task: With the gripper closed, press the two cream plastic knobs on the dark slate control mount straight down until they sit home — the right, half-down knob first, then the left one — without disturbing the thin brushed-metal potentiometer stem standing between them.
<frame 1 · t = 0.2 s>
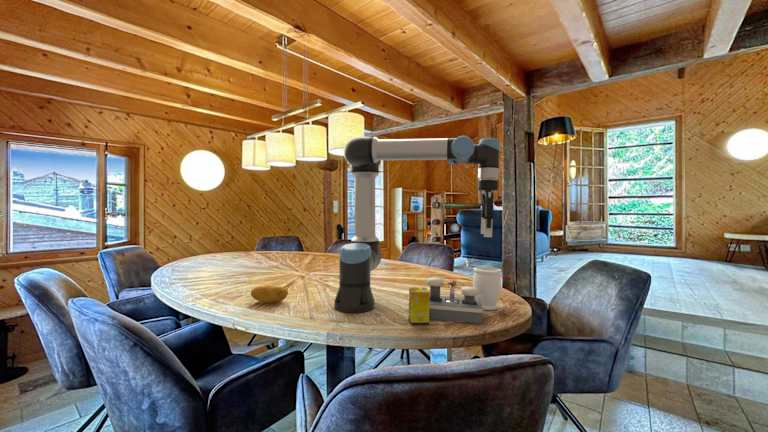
hand: (486, 235, 127), 28 cm above the table, fingers open, 13 cm apart
potato: (269, 303, 128), on the table
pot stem: (451, 315, 118), resting on mount
knob right: (469, 298, 116), point 7 cm above the table, slide at 2.5 cm
white tapered cup: (486, 307, 128), on the table
knob left: (435, 288, 119), point 9 cm above the table, slide at 0.0 cm
mount: (451, 314, 118), on the table
supplement box: (418, 322, 110), on the table
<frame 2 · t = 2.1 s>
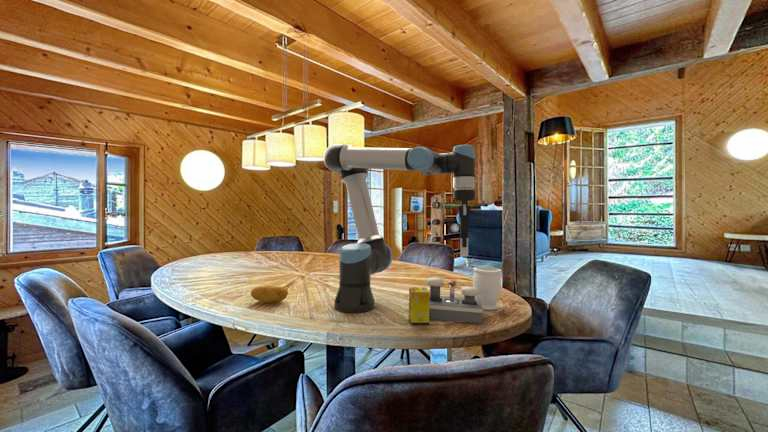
hand: (464, 256, 117), 21 cm above the table, fingers closed
nothing on the table moved.
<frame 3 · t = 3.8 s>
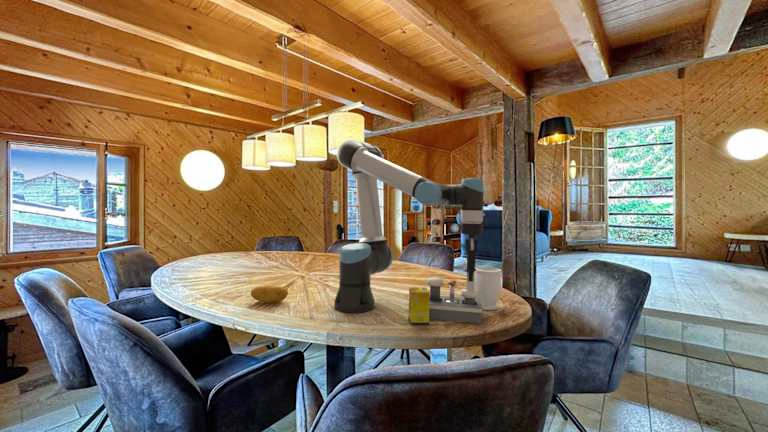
hand: (470, 289, 116), 10 cm above the table, fingers closed
knob right: (469, 300, 116), point 6 cm above the table, slide at 3.3 cm, touching gripper
everything else where it was.
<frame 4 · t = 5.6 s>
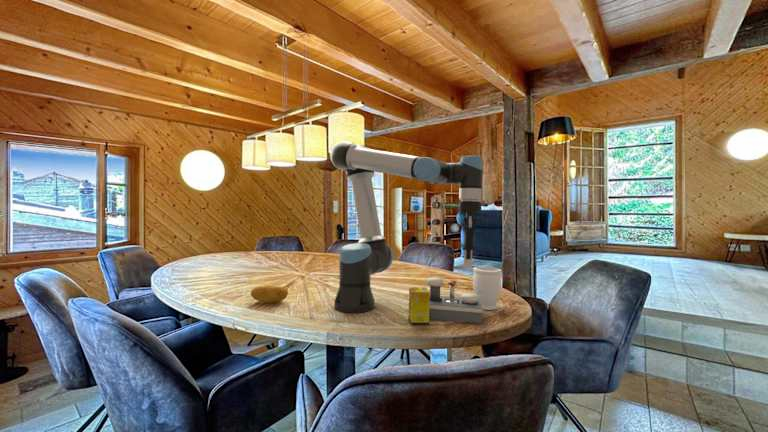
hand: (467, 267, 116), 17 cm above the table, fingers closed
knob right: (469, 305, 116), point 4 cm above the table, slide at 5.0 cm
everything else where it was.
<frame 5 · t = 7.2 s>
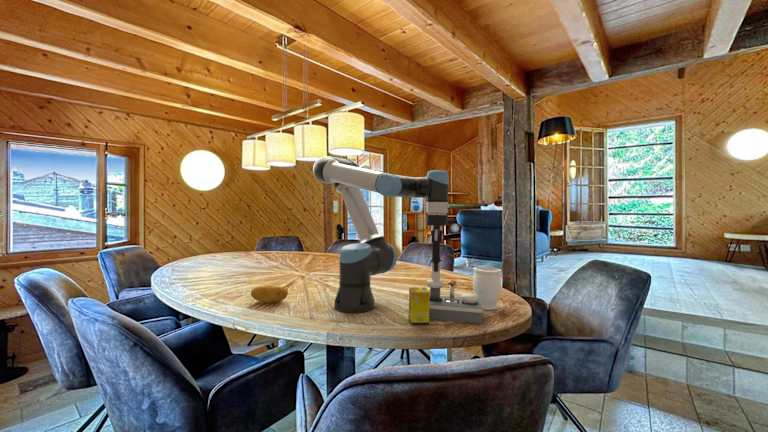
hand: (435, 280, 118), 12 cm above the table, fingers closed
knob left: (435, 290, 119), point 8 cm above the table, slide at 0.6 cm, touching gripper
everything else where it was.
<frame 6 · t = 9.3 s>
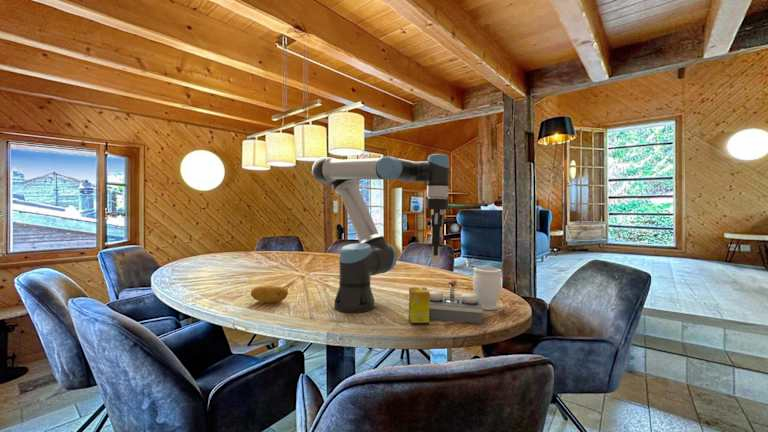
hand: (435, 264, 118), 18 cm above the table, fingers closed
knob left: (434, 302, 119), point 4 cm above the table, slide at 5.0 cm
everything else where it was.
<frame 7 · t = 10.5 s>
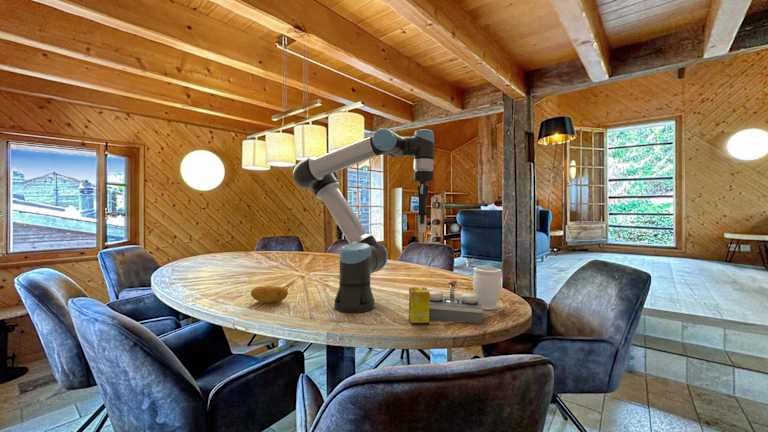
hand: (422, 232, 128), 28 cm above the table, fingers closed
nothing on the table moved.
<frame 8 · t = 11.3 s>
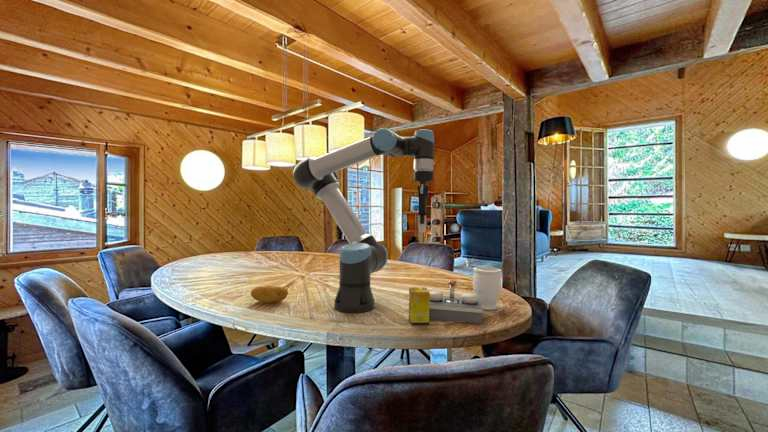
hand: (422, 232, 128), 28 cm above the table, fingers closed
nothing on the table moved.
at the end: knob left slide at 5.0 cm; knob right slide at 5.0 cm; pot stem tilted 0° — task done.
